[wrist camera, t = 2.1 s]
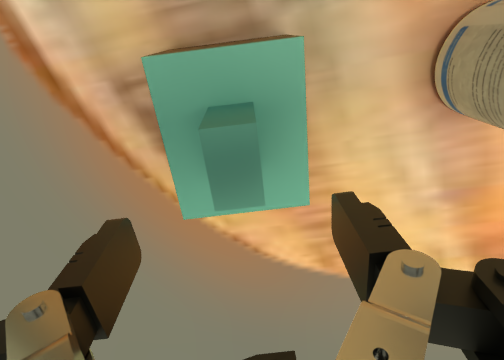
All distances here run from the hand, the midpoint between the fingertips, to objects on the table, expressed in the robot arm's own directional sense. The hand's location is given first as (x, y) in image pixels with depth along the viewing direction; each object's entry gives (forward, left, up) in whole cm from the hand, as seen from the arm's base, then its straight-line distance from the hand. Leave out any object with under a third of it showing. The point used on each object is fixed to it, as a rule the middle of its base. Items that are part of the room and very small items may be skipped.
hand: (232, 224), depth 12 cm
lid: (0, 0, -12) cm, 12 cm away
